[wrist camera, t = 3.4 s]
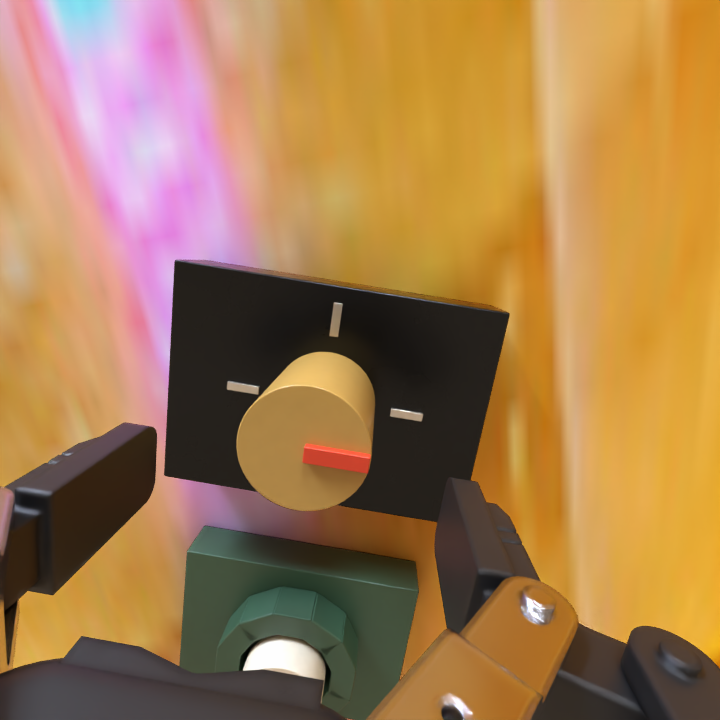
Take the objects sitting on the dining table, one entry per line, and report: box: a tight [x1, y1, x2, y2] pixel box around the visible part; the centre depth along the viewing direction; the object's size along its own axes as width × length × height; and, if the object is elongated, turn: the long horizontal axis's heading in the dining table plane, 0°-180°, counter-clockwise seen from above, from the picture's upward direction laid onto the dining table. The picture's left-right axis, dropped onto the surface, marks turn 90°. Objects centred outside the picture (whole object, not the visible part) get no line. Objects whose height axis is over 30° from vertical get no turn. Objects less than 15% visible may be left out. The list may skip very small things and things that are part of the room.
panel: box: [164, 260, 509, 522], centre depth 20 cm, size 14×10×3 cm
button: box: [243, 635, 326, 703], centre depth 20 cm, size 4×4×2 cm
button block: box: [180, 526, 419, 720], centre depth 23 cm, size 12×9×4 cm
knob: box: [236, 352, 375, 511], centre depth 16 cm, size 4×4×5 cm
